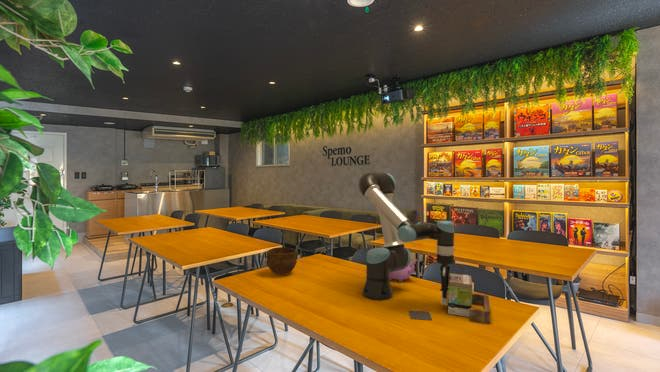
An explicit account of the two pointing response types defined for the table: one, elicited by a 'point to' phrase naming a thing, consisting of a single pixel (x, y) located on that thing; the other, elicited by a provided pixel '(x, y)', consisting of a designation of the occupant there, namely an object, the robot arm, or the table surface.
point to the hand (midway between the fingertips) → (444, 304)
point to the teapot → (403, 273)
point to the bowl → (281, 260)
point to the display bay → (478, 314)
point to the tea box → (459, 294)
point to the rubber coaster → (420, 315)
